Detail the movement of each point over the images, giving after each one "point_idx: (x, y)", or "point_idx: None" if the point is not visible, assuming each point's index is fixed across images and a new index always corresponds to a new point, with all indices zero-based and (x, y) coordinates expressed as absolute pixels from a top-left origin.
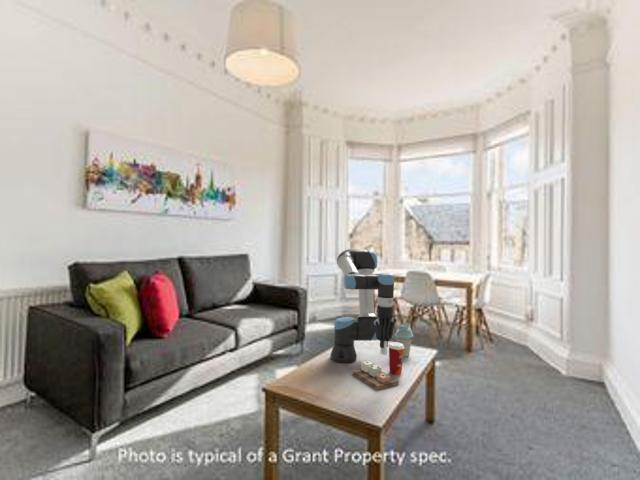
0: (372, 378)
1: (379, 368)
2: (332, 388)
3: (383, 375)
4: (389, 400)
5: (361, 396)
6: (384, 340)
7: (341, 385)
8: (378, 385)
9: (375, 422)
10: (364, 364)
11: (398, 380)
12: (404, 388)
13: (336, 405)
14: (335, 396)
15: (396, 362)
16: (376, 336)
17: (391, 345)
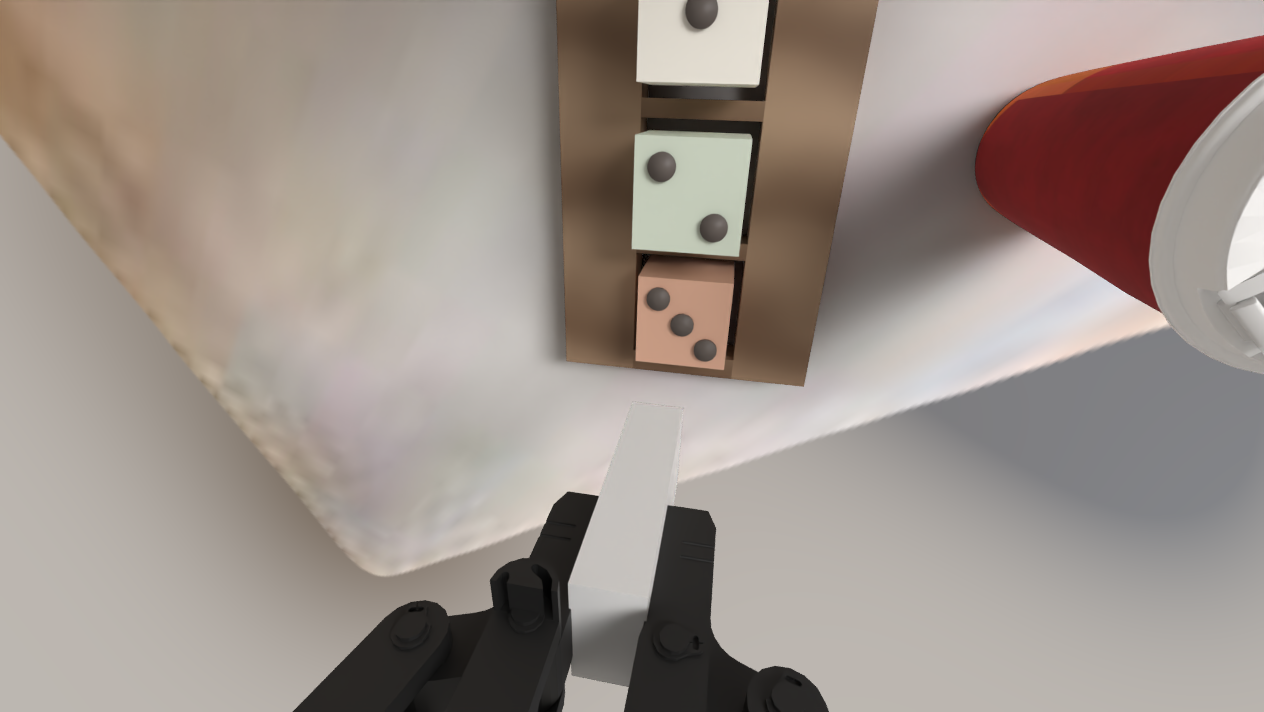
0: (623, 229)
1: (709, 252)
2: (266, 136)
3: (678, 333)
4: (556, 479)
5: (420, 353)
6: (564, 696)
7: (352, 125)
8: (578, 360)
9: (365, 559)
10: (640, 25)
11: (803, 385)
12: (782, 433)
13: (234, 355)
14: (255, 261)
15: (1055, 245)
16: (331, 684)
17: (1238, 217)
